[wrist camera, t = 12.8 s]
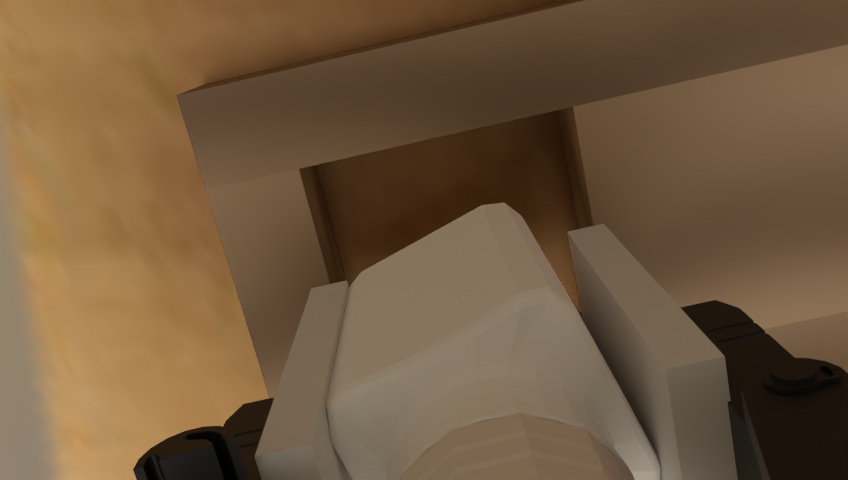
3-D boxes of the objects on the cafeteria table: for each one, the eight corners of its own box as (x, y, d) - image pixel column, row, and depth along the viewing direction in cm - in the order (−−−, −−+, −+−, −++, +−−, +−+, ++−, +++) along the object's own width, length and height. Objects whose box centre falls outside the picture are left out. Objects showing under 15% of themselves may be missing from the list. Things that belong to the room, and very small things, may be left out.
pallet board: (203, 85, 21) (176, 95, 18) (1154, -137, 20) (1257, -156, 17) (313, 455, 24) (302, 506, 21) (1143, 281, 23) (1230, 313, 20)
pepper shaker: (338, 276, 17) (267, 575, 8) (504, 184, 17) (627, 391, 8) (430, 423, 18) (460, 837, 9) (589, 339, 18) (788, 686, 9)
